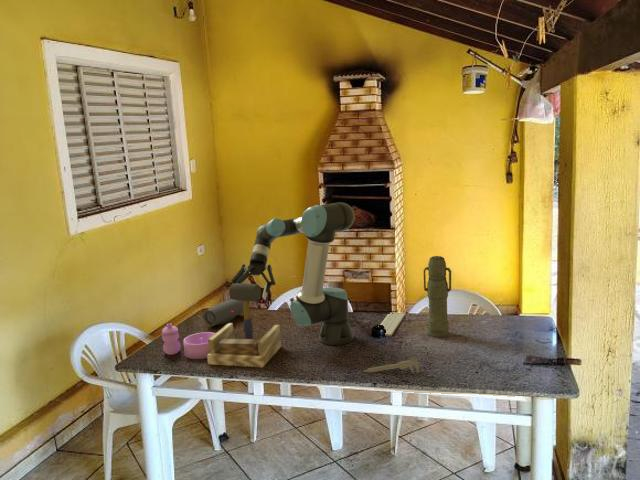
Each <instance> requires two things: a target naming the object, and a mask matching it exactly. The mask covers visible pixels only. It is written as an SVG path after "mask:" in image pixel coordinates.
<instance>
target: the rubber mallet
mask: <svg viewBox="0 0 640 480" xmlns="http://www.w3.org/2000/svg"><path fill="white" fill-rule="evenodd" d="M228 295H229V298H230V299H233V300H239V301H243V308H244V312H243V318H244V319H243V332H244V339H254V336H253V335H254V334H253V332H254V329H253V328H254V326H253V321H252V319H251V311H250V310H251V309H250V302H257V301H259V300H260V298H261V297H262V288H261V286H260V285H259V284H255V283H244V282H242V283H238V284H233V283H232V284H231V285H230V287H229V291H228Z"/></svg>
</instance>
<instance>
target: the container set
mask: <svg viewBox="0 0 640 480" xmlns="http://www.w3.org/2000/svg"><path fill="white" fill-rule="evenodd" d="M178 331H179V328H178V326H175V325H173V323H171V322H170V323H166V326H165V327H163V329H162V330H161V333H162V335H161V340H162V341H163V342H164V343H163V345H162V349H163V352H164V353H165V354H166V355H169V356H171V355H175V354H176V355H177V354H178V353H179V352H180V350H181V346H182V345H181V343H180V341H179V338H180V333H179V332H178ZM215 333H216V332H211V331H205V332H204V331H203V332H198V333H194V334H189V335H188V336H186V337H184V339H183V341H182V342H183V343H182V344H183V350H184V356H185V357H186V358H187V359H191V360H202V359H207V355H208V354H209V345H208V339H209V338H210V337H212V336H213V335H214V334H215Z"/></svg>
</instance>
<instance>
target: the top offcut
mask: <svg viewBox="0 0 640 480" xmlns="http://www.w3.org/2000/svg"><path fill="white" fill-rule="evenodd" d="M260 339H261V338H260ZM260 339H257V338H256V339H255V338H253V339H245V338H234V339H222V340H221V341H220V342H219V350H237V351H257V350H258V341H259V340H260Z"/></svg>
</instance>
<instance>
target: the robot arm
mask: <svg viewBox="0 0 640 480" xmlns="http://www.w3.org/2000/svg"><path fill="white" fill-rule="evenodd" d="M355 216H356V215H355V211H354V209H353V208H352V206H351V205H349V204H348V203H345V202H333V203H326V204H316V205H313V206H309V207H307V209H305V210H304V211H303V213H302V216H299V217H295V218H294V217H293V218H289V219H281V218H278V217H277V218H275V217H274V218H273V219H271V220H269V222H267V224H264V225H260V226H259V227H258V230H257V231H256V236H255V240H254V244H253V247H252V252H251V256H250V259H249V264H248V265H245V264H242V265H241V268H240V269H239V270H238V272H237V273H236V274H235V275H234V277H232V279H231V283H232V284H238V283H244V281H245V280H247V279H248V278H250V277H252V276H260V275H261V277H262V278H263V280H265V283H264V287H263V292H262V294H261V297H262V299H263V300H264V301H267V296H268V293H270V292H271V287H272V286H276V281H275V278H274V275H273V267H272V266H271V264H268V265H267V263H268V258H269V254H270V251H271V247H272V246H271V245H272V243H273V242H275V240H277V239H279V238H283V237H284V238H285V237H289V236H295V235H301V234H304V235H305V238H306V239H307V240H308V242H307V248H306V256H305V257H306V258H305V264H304V270H303V271H304V273H303V278H302V279H303V281H302V286H301V289H300V290H299V291H298V292H297V297H296V299H294V300H293V301H291V303H290V305H289V308H290V314H291V317H292V319H293V321H294V322H295V323H296V324H297V325H298V326H300V327H308V326H309V327H310V326H312V325H315V324H318V323H321V322H322V324H321V328H320V331H319V335H318V339H319V342H320V343H322V344H324V345H329V346H340V345H345V344H348V343H350V342H352V341H353V340H354V332H353V330H352V327H351V325H350V322H349V321H350V320H349V303H348V301H349V298H348V293H347V291H346V290H345V289H343V288H339V287H324V282H325V277H326V269H327V262H328V255H329V250H330V244H331V243H333V242H334V241H335V238H336V237H335V236H336V233H339V232H344V231H346V230H348V229H349V228H351V227H352V226H353V224H354V222H355V219H356V217H355ZM265 271H267V273H268V277H269V279H270V280H269V279H268V277H267V276H266V275H265V273H264V272H265Z"/></svg>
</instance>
